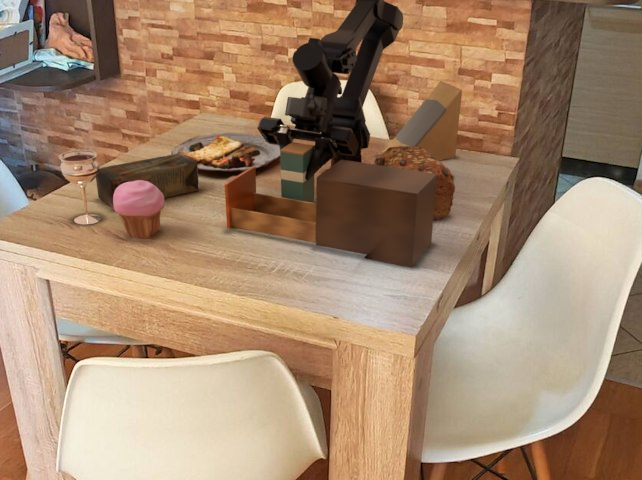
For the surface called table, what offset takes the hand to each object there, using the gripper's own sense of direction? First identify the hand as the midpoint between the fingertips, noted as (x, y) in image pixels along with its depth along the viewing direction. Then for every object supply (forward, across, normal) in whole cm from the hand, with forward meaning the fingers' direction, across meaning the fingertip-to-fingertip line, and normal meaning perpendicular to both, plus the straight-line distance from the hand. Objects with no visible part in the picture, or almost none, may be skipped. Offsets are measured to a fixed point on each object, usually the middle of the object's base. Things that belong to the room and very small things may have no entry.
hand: (294, 177), depth 152 cm
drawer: (+10, +1, -1) cm, 11 cm away
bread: (-5, +18, +15) cm, 24 cm away
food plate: (-10, -27, +21) cm, 36 cm away
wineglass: (+19, -34, -9) cm, 39 cm away
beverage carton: (+8, -30, +2) cm, 31 cm away
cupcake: (+20, -20, -10) cm, 30 cm away
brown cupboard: (+11, +19, -1) cm, 22 cm away
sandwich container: (-25, +10, +35) cm, 44 cm away
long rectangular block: (+3, 0, +5) cm, 6 cm away
